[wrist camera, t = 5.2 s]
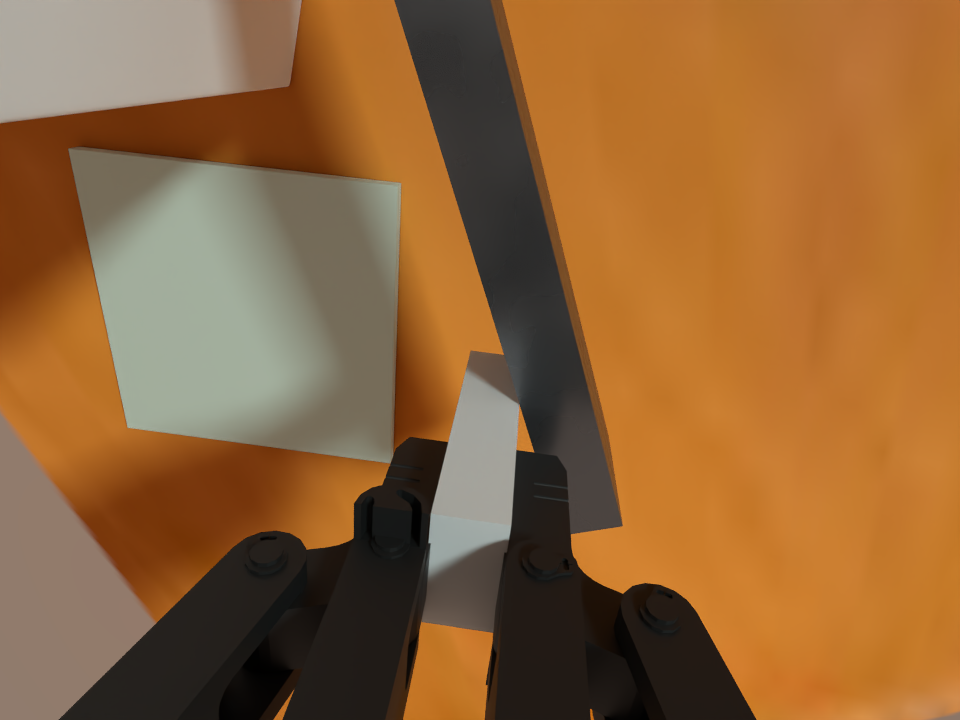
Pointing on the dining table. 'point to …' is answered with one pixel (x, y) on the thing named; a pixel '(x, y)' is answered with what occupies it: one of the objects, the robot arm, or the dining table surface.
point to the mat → (247, 299)
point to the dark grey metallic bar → (514, 238)
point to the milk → (138, 52)
